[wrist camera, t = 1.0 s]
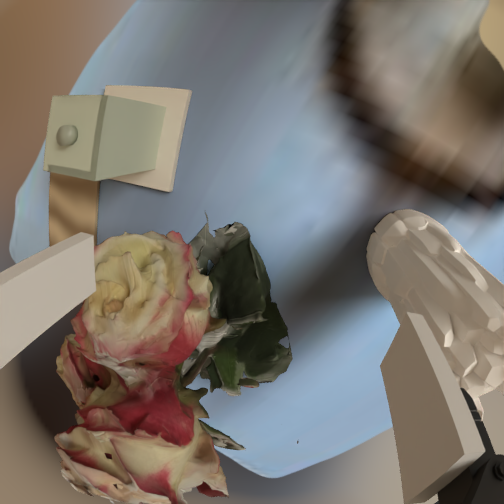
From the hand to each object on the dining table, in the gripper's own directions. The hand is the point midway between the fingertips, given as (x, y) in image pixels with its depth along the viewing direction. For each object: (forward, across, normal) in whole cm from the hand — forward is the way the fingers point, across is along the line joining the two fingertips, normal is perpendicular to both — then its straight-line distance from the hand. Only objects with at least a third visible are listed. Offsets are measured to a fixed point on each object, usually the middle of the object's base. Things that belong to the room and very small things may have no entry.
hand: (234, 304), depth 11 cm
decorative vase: (+26, +16, -3) cm, 30 cm away
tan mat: (+25, -32, -10) cm, 42 cm away
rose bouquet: (+26, -10, -19) cm, 33 cm away
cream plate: (+25, -20, +5) cm, 33 cm away
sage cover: (+24, -20, +5) cm, 32 cm away
